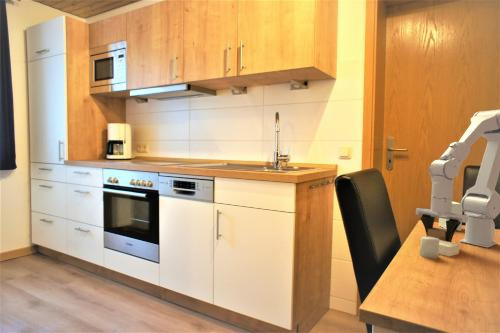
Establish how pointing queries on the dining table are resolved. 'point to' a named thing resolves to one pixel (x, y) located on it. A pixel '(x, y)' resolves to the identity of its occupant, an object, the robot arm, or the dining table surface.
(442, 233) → the walnut cube
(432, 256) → the cream smooth round part
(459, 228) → the small box
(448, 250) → the cream block
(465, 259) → the dining table surface
